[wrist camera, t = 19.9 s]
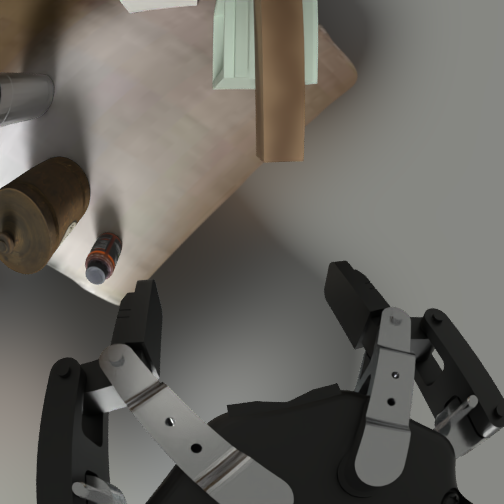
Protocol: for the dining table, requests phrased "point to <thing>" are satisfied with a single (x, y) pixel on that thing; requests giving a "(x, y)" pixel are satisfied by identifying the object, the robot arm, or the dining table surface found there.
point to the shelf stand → (154, 4)
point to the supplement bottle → (103, 258)
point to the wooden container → (40, 212)
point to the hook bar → (279, 80)
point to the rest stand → (252, 44)
